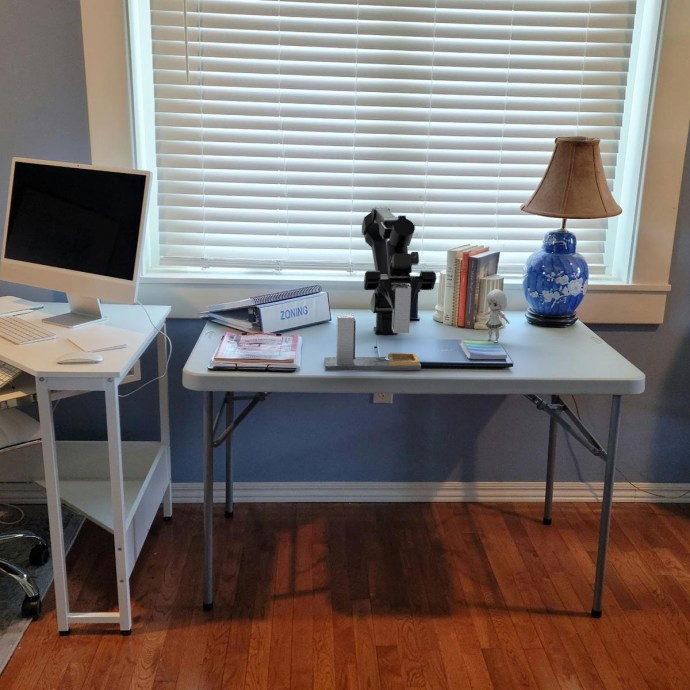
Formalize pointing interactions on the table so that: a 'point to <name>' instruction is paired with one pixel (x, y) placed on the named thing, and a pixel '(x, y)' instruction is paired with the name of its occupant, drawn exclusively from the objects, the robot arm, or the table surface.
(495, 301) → the figurine
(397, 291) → the gray block
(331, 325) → the table surface
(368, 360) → the rail
